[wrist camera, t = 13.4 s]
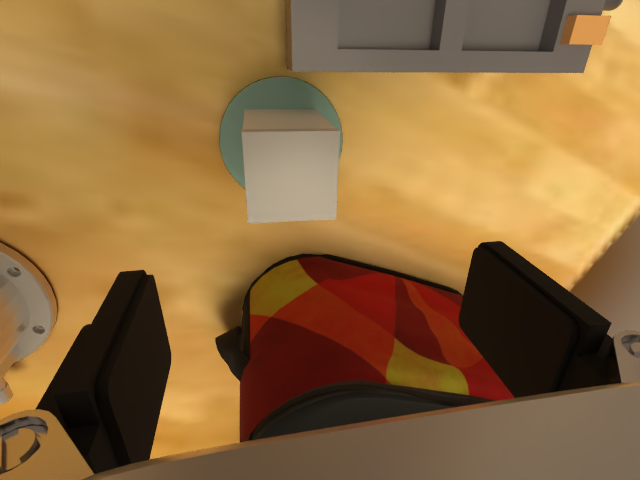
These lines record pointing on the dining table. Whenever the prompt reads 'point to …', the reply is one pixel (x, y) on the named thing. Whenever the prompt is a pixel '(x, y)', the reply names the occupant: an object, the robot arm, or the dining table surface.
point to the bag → (349, 348)
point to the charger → (290, 165)
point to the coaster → (268, 97)
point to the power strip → (444, 35)
